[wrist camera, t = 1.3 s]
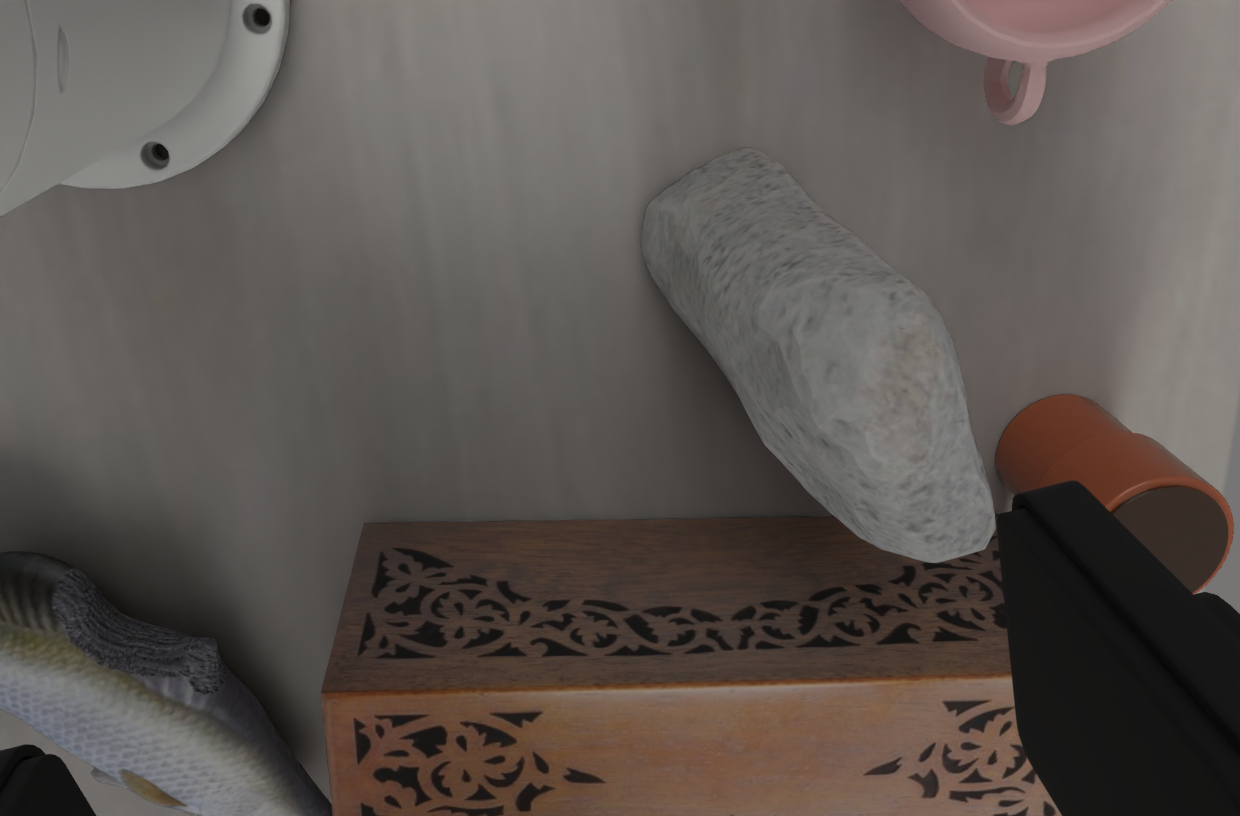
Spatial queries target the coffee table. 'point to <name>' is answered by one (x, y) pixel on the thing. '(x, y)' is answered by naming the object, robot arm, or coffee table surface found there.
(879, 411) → the decorative stone
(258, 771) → the fish
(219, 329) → the coffee table surface
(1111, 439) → the orange cylinder
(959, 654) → the tissue box cover
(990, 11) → the mug
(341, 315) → the coffee table surface
